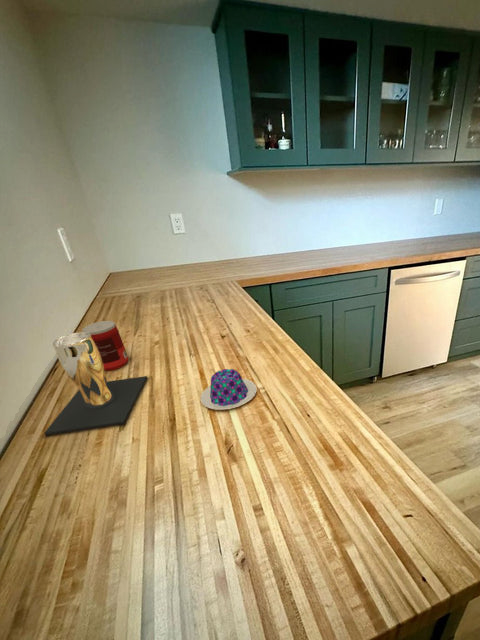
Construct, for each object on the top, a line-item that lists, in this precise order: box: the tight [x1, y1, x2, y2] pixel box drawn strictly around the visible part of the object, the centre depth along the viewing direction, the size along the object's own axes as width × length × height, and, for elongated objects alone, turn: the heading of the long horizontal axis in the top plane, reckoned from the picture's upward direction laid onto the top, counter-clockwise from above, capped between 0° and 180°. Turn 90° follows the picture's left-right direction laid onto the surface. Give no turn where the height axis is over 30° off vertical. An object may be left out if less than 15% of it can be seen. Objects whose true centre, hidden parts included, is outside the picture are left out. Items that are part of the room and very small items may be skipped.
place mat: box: [44, 375, 148, 437], centre depth 74 cm, size 15×18×1 cm
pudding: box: [200, 368, 258, 411], centre depth 71 cm, size 12×12×5 cm
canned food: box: [81, 320, 129, 372], centre depth 88 cm, size 8×8×11 cm
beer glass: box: [52, 331, 116, 409], centre depth 70 cm, size 7×7×15 cm
